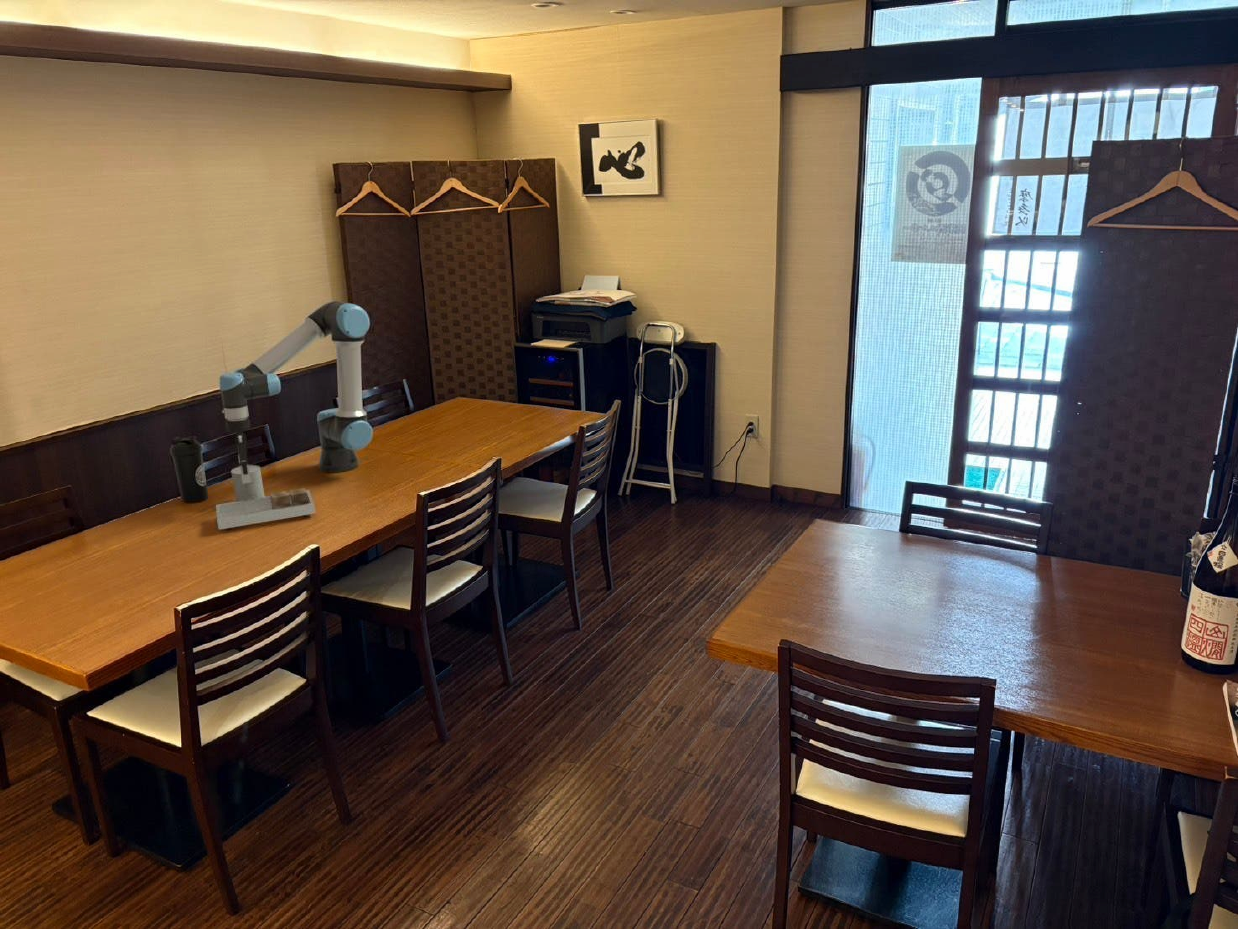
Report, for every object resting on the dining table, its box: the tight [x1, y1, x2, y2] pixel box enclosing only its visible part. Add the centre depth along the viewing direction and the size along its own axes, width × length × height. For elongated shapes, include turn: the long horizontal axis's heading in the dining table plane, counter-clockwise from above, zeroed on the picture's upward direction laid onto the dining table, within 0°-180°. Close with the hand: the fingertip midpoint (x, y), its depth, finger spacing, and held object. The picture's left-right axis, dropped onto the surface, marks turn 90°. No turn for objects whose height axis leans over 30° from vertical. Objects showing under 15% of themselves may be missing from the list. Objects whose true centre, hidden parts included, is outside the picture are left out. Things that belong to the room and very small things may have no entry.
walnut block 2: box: [289, 488, 308, 506], centre depth 305 cm, size 5×5×5 cm
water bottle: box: [169, 435, 209, 505], centre depth 318 cm, size 10×10×23 cm
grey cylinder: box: [230, 464, 266, 502], centre depth 316 cm, size 10×10×12 cm
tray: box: [215, 489, 316, 531], centre depth 302 cm, size 30×15×5 cm, turn 114°
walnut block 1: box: [269, 490, 291, 509], centre depth 303 cm, size 5×5×5 cm
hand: (245, 477), depth 314 cm, fingers open, 13 cm apart
